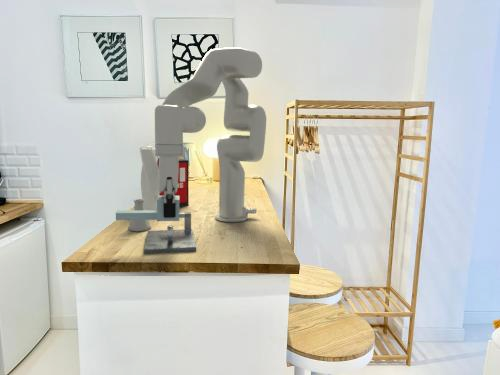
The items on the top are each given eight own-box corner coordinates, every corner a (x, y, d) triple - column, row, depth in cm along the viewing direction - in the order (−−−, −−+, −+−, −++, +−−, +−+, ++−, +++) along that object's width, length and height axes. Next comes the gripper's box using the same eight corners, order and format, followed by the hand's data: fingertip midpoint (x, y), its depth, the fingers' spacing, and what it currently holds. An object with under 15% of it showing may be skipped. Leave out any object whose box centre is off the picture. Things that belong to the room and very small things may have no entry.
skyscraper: (159, 210, 148) (158, 141, 144) (164, 214, 142) (163, 142, 137) (139, 212, 144) (137, 141, 140) (143, 216, 138) (141, 142, 133)
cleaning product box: (153, 201, 165) (152, 158, 162) (170, 199, 171) (170, 157, 168) (170, 208, 153) (169, 161, 149) (188, 205, 158) (188, 160, 155)
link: (179, 215, 106) (179, 195, 105) (179, 220, 100) (179, 199, 99) (118, 216, 103) (118, 195, 102) (114, 221, 97) (114, 199, 96)
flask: (142, 225, 126) (141, 196, 125) (155, 228, 122) (154, 199, 120) (124, 229, 121) (122, 199, 119) (136, 233, 116) (135, 203, 115)
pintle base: (192, 232, 118) (192, 211, 117) (196, 251, 101) (196, 226, 100) (147, 234, 115) (147, 212, 114) (144, 253, 98) (143, 228, 97)
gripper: (156, 149, 107) (156, 208, 110) (153, 152, 91) (154, 222, 93) (181, 149, 109) (181, 207, 112) (184, 153, 92) (184, 221, 95)
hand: (169, 213), depth 102 cm, fingers closed on link, 6 cm apart
